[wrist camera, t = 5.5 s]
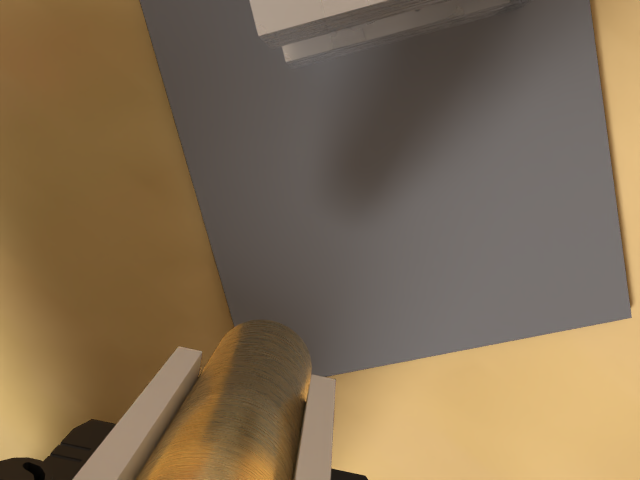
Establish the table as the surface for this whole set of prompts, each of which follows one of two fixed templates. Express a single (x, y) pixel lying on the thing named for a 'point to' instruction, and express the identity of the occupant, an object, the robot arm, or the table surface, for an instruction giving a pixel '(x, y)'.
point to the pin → (240, 411)
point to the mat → (401, 180)
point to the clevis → (360, 23)
